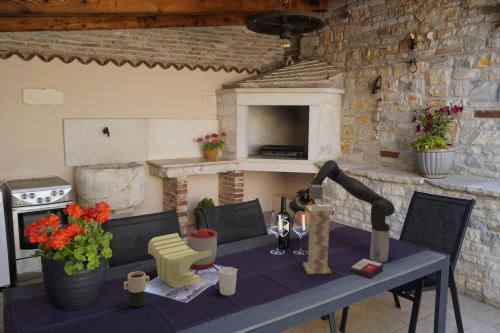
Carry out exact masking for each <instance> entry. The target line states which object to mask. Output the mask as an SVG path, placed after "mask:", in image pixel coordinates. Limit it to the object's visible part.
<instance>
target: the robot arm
mask: <svg viewBox="0 0 500 333" xmlns="http://www.w3.org/2000/svg"><path fill="white" fill-rule="evenodd" d="M326 178H327V179H329V180H330V181H333V182H335V184H338V185H339V186H340V187H341V188H342V189H343V190H345V191H346V192H347V193H348V194H349V195H351V196H352V197H353V198H355V199H357V200H360V201H363V202H364V203H368V204H370V205H371V208H370V224H371V237H370V249H369V250H370V251H369V260H370V261H374V262H378V263H386V262H387V261H388V259H389V248H390V247H389V246H390V230H391V229H390V228H391V226H390V224H389V223H387V221H386V218H387V217H390V216H392V215H393V214H395V206H394V204H393V202H392V201H391V200H389V199H388V198H385V197H384V196H382V195H381V194H378V193H377V192H376V191H374V190H373V189H371V188H370V187H369V186H367V185H366V184H364V183H363V182H362V181H361V180H360V179H357V178H355V177H352V176H349V175H347V174H346V173H345V172H344V171H343V170H341V168H340V167H339V164H338V163H337V162H336V160H332V159H331V160H326V162H324V163H323V165H322V166H321V167H320V169H319V171H318V172H317V174H316V175H315V177H314V178H313V180H312V181H311V183H310V184H309V185H320V186H322V185H323V183H324V181H325V179H326ZM309 185H308V186H307V187H309ZM307 193H309V188H307V189H306V188H305V189H301V190H299V191H296V192H295V197H296V198H293V199H292V200H291V201H290V202H289V203H288V208H289V209H290V210H291V211H292V212H293V213H294V214H295V215H297V214H296V212H298V211H303V212H304V213H305V212H306V210H305V209H304V206H305V205H309V204H310V203H311V202H312V201H313V199H312V198H311V197H310V196H309V194H307Z"/></svg>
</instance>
